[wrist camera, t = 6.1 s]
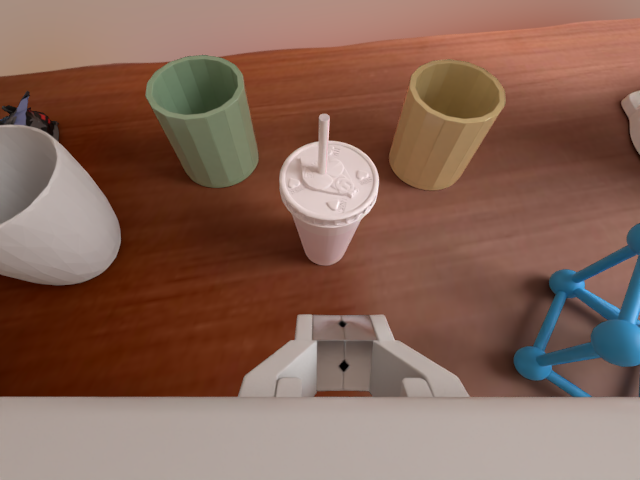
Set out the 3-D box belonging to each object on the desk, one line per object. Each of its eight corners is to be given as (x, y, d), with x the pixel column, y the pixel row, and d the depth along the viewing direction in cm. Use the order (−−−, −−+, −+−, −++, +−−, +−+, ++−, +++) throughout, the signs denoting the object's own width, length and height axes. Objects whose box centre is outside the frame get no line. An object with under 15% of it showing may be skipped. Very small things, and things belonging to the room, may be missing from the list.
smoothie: (319, 203, 31) (322, 66, 19) (375, 241, 29) (419, 116, 17) (273, 251, 29) (243, 128, 16) (331, 295, 27) (345, 194, 15)
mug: (140, 280, 27) (58, 216, 19) (22, 314, 26) (-129, 262, 17) (129, 167, 33) (62, 76, 24) (31, 190, 31) (-79, 102, 23)
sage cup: (239, 121, 36) (219, 45, 29) (272, 168, 33) (260, 96, 26) (172, 148, 34) (133, 73, 27) (201, 200, 31) (165, 132, 24)
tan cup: (429, 124, 37) (459, 49, 29) (478, 170, 34) (525, 100, 26) (374, 151, 35) (391, 78, 27) (421, 202, 32) (454, 136, 24)
